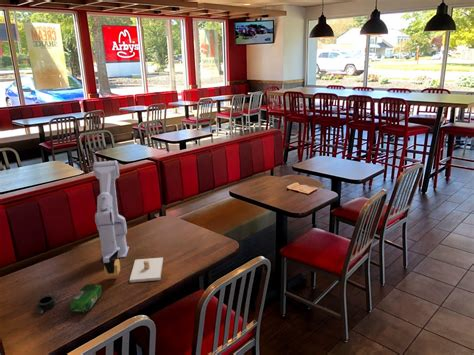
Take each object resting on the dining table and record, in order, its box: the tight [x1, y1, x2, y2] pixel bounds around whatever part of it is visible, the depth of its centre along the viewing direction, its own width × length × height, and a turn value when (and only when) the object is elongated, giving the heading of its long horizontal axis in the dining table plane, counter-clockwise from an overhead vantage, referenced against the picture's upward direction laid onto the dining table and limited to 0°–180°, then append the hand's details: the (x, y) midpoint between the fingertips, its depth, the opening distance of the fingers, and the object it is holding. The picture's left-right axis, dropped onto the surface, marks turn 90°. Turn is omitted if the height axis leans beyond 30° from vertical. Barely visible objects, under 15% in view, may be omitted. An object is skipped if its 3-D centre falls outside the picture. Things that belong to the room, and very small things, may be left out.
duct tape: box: [35, 293, 57, 315], centre depth 139 cm, size 8×10×3 cm
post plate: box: [129, 257, 164, 283], centre depth 160 cm, size 16×12×4 cm
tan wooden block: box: [103, 258, 121, 277], centre depth 154 cm, size 5×5×4 cm
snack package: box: [69, 283, 103, 313], centre depth 140 cm, size 7×16×5 cm, turn 174°
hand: (112, 269), depth 155 cm, fingers closed on tan wooden block, 5 cm apart
